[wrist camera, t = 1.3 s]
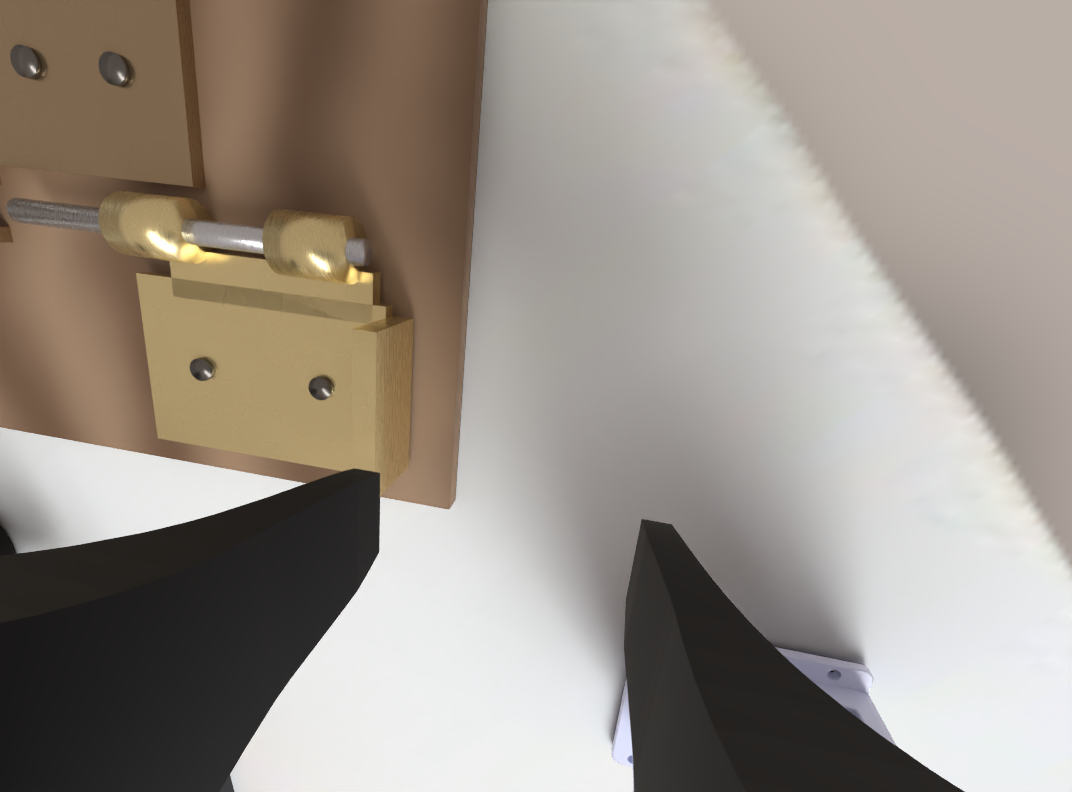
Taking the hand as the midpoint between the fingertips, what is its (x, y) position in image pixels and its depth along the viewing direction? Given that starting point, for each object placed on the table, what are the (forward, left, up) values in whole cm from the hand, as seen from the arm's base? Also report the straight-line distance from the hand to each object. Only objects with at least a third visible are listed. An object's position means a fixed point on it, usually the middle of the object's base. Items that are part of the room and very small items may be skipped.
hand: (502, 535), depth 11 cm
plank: (+16, -5, -9) cm, 19 cm away
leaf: (+13, -1, -8) cm, 15 cm away
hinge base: (+20, -9, -9) cm, 23 cm away
